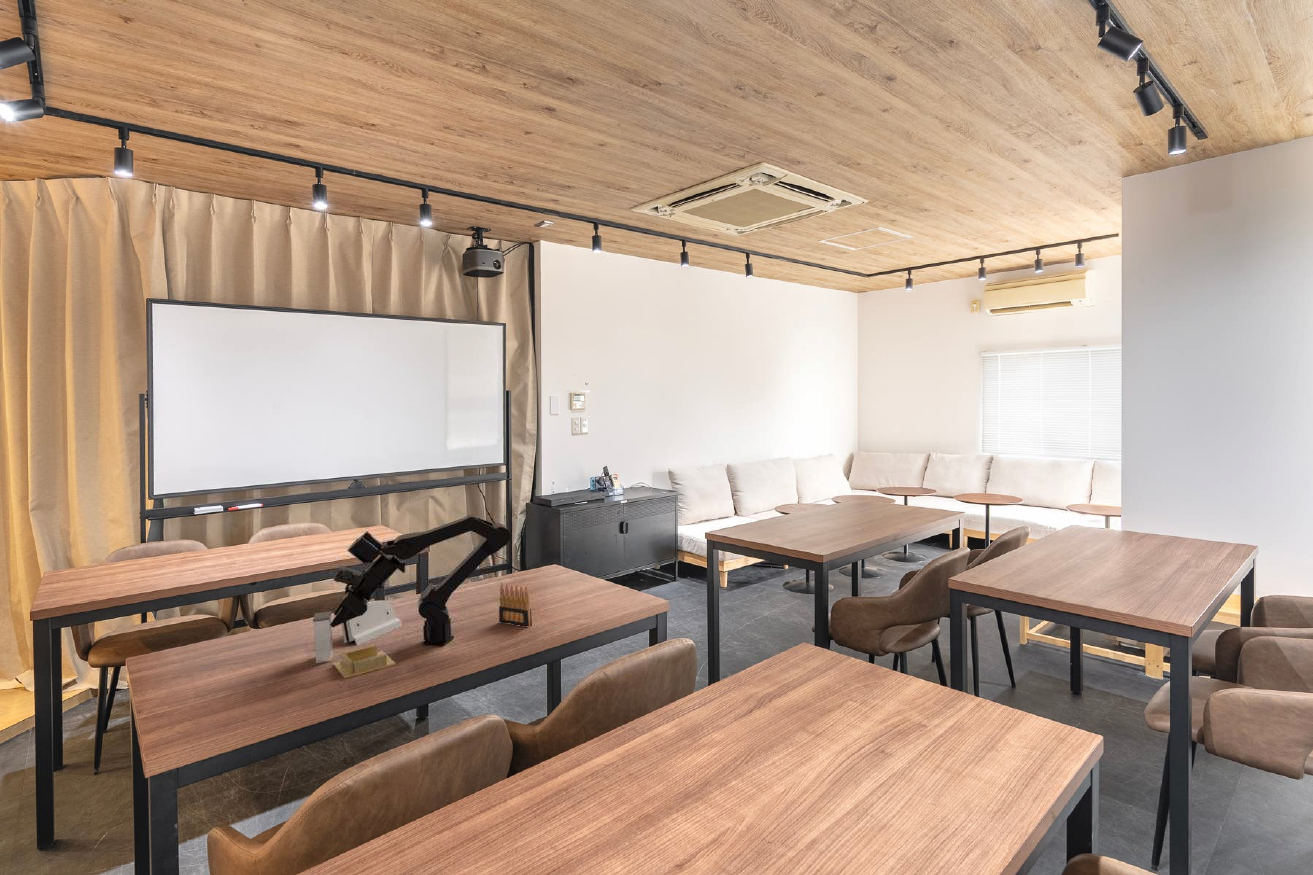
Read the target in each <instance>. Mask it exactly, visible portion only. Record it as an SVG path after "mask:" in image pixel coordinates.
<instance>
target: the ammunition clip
mask: <svg viewBox="0 0 1313 875" xmlns="http://www.w3.org/2000/svg"><path fill="white" fill-rule="evenodd" d="M499 591H500V592H499V605H498V623H499V622H501V623H500V624H503V623H511V624H514V625H513V626H515V625H520V626H519V627H522V626H530V627H531V626H532V625H533V622H532V621H533V620H532V609H531V602H530V595H529V594H530V593H529V589H528V586H526V585H525V588H524V587H523V585H520V588H519V587H518V584H517V585H516V584H515V587H514V586H513V584H511V585H510V588H509V584H508V583H506V585H505V586H504V583H501V584H500V590H499Z"/></svg>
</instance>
